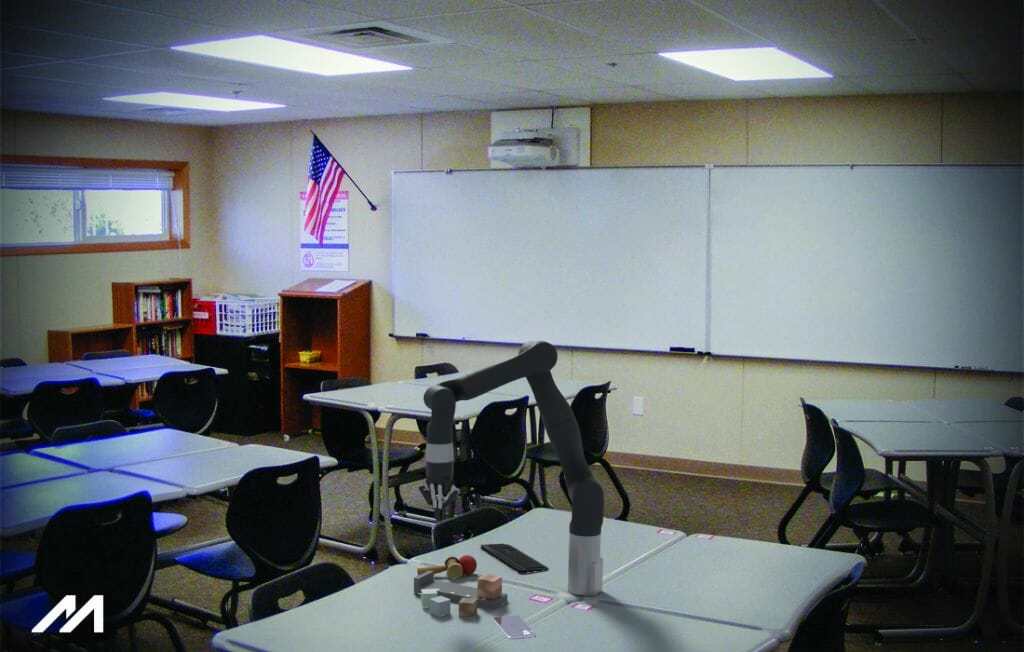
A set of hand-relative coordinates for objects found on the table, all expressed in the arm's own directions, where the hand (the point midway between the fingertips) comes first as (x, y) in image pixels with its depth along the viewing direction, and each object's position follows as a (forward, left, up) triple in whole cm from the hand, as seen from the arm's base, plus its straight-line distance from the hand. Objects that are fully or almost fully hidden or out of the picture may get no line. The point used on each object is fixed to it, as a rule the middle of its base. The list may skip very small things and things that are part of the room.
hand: (439, 521), depth 272 cm
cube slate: (-4, +6, -24) cm, 25 cm away
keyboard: (+2, -49, -24) cm, 54 cm away
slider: (-11, -8, -21) cm, 26 cm away
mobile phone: (-26, +4, -24) cm, 36 cm away
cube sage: (+2, +2, -24) cm, 24 cm away
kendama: (+11, -23, -24) cm, 35 cm away
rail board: (-2, -8, -24) cm, 25 cm away
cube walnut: (-11, +3, -24) cm, 26 cm away
